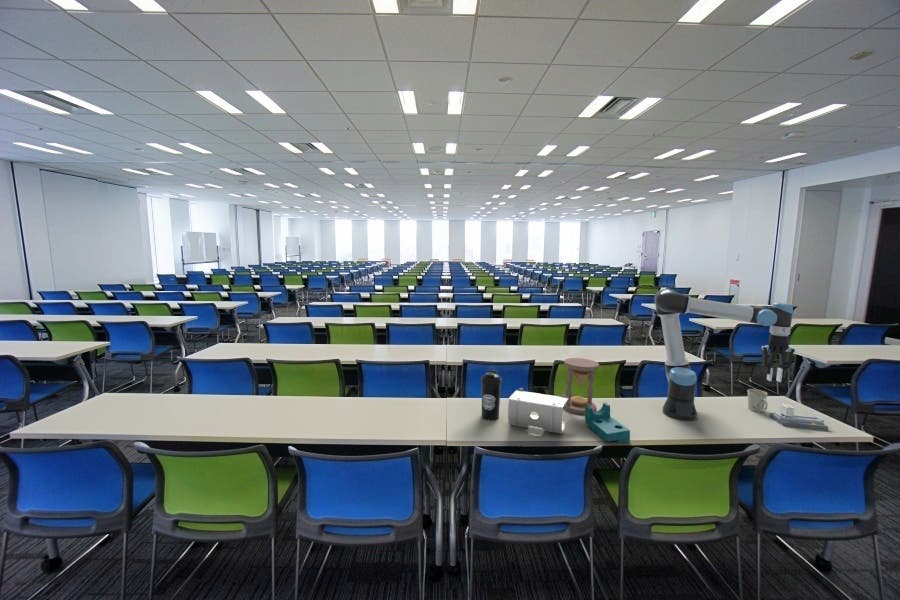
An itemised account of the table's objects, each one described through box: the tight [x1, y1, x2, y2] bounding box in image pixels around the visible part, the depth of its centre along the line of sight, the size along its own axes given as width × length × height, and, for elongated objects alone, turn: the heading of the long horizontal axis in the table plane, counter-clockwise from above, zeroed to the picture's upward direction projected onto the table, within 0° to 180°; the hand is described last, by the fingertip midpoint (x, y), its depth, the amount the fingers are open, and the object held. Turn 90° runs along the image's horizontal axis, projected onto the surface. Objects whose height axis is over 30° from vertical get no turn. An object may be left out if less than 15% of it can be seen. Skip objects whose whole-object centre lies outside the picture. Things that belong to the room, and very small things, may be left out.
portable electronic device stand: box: [507, 387, 569, 438], centre depth 176 cm, size 26×24×16 cm
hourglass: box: [563, 357, 600, 415], centre depth 198 cm, size 18×18×25 cm
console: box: [769, 411, 829, 431], centre depth 184 cm, size 18×11×4 cm, turn 76°
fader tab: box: [779, 403, 795, 417], centre depth 185 cm, size 3×5×6 cm, turn 166°
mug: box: [746, 388, 769, 413], centre depth 198 cm, size 8×13×10 cm, turn 174°
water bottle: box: [480, 369, 503, 421], centre depth 185 cm, size 10×10×23 cm
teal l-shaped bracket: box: [584, 401, 631, 444], centre depth 170 cm, size 18×11×10 cm, turn 10°
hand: (773, 380), depth 185 cm, fingers open, 3 cm apart
